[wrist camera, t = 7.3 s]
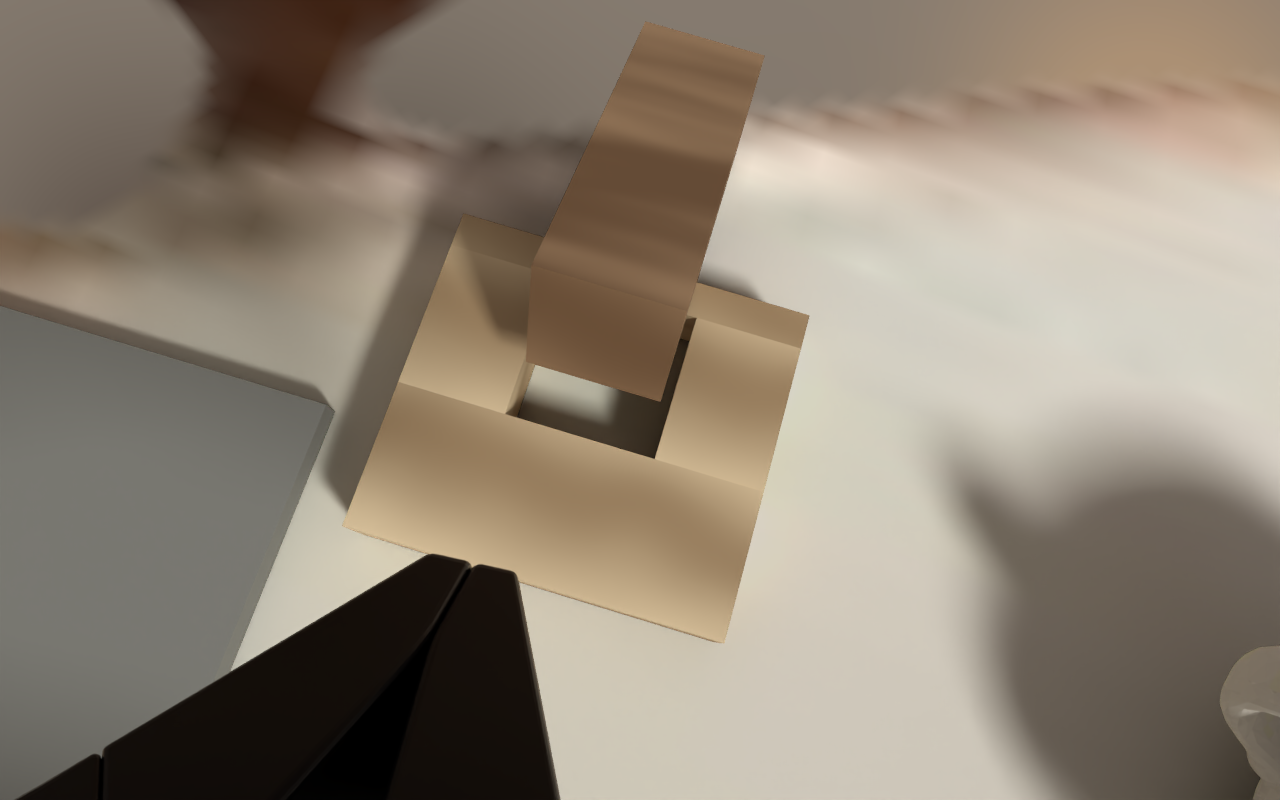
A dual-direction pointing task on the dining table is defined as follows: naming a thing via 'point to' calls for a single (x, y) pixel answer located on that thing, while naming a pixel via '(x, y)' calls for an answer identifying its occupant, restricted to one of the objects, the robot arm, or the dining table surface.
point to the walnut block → (640, 214)
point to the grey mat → (128, 533)
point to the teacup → (1256, 714)
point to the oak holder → (579, 450)
